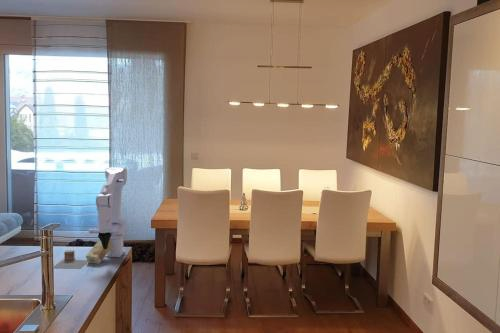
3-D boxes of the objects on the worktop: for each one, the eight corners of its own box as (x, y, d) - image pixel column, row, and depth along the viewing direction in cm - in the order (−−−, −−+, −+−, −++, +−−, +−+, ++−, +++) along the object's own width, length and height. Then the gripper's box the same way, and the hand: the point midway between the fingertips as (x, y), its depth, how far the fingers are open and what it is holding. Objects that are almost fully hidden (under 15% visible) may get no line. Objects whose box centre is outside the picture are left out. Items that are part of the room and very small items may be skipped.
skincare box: (85, 256, 223) (98, 238, 233) (87, 262, 225) (101, 245, 235) (97, 257, 221) (110, 240, 231) (99, 264, 223) (112, 247, 233)
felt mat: (62, 260, 229) (62, 259, 229) (89, 260, 229) (89, 260, 228) (51, 268, 217) (51, 267, 217) (80, 269, 217) (80, 268, 217)
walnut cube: (65, 258, 231) (65, 250, 231) (74, 258, 232) (74, 250, 232) (64, 260, 227) (64, 252, 227) (73, 260, 228) (73, 251, 228)
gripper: (85, 221, 216) (86, 250, 218) (117, 222, 216) (118, 251, 217) (91, 218, 223) (92, 246, 225) (122, 218, 223) (122, 247, 224)
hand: (105, 248), depth 221 cm, fingers closed
